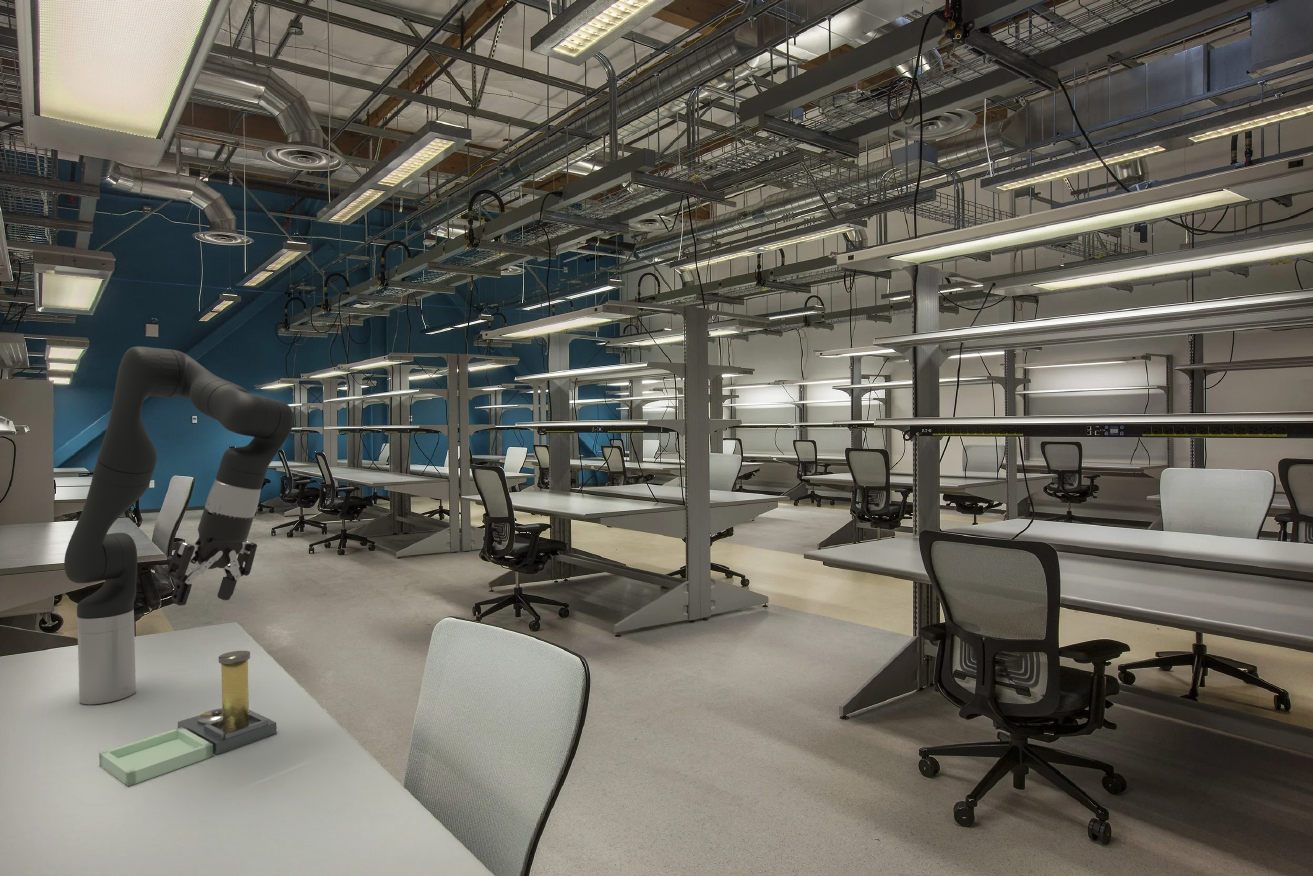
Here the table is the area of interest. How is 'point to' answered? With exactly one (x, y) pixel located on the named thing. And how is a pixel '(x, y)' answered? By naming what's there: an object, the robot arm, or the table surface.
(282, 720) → the table surface
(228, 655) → the pin
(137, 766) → the tray
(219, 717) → the crank deck
